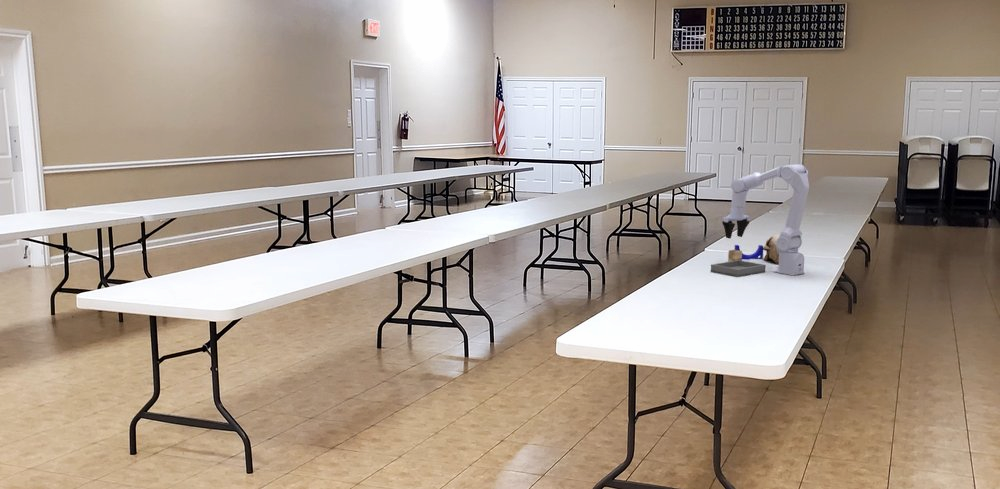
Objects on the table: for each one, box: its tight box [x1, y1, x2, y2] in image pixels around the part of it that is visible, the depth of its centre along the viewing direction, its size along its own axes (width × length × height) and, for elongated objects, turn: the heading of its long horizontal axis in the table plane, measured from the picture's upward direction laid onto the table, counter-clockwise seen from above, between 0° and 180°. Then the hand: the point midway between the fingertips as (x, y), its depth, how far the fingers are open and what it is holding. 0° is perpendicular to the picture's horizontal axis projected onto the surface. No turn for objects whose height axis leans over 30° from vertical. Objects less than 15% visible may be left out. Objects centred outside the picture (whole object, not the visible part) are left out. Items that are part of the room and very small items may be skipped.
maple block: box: [727, 249, 743, 262], centre depth 362 cm, size 4×4×6 cm
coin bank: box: [763, 233, 781, 265], centre depth 368 cm, size 16×17×13 cm
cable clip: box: [733, 244, 764, 261], centre depth 376 cm, size 12×4×6 cm, turn 85°
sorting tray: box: [710, 260, 767, 278], centre depth 345 cm, size 14×18×3 cm
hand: (733, 237), depth 362 cm, fingers open, 7 cm apart
